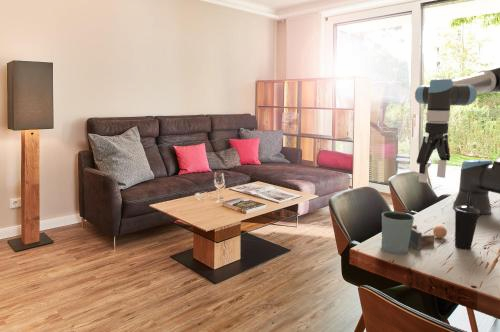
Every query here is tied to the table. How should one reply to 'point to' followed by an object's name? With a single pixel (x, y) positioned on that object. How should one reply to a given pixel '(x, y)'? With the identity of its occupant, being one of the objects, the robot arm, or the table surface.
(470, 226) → the drinking cup
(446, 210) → the table surface
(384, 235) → the blue-grey embossed pot
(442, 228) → the ball
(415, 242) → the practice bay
